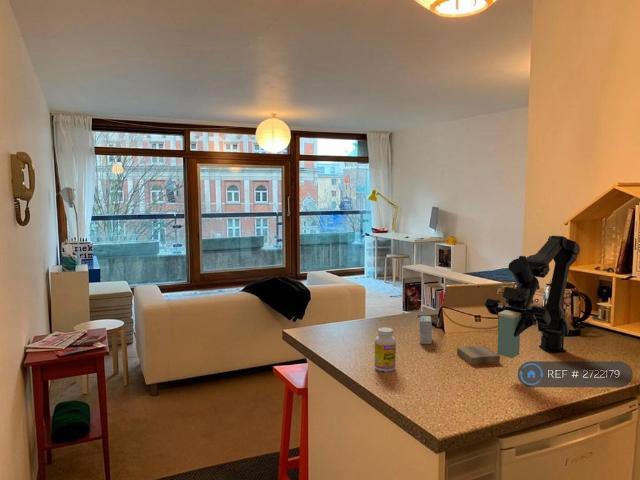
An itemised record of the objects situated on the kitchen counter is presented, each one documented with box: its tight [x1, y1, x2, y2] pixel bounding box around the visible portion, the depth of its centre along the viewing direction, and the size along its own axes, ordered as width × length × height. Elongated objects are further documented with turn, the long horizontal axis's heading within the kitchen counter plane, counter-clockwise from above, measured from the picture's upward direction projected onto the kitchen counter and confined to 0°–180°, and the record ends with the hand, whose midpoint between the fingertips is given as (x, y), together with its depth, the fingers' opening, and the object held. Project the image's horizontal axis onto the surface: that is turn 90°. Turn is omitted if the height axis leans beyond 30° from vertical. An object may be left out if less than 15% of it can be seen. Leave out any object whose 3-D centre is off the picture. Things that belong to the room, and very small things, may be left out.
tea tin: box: [496, 310, 521, 359], centre depth 141 cm, size 5×5×13 cm
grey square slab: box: [456, 345, 501, 366], centre depth 157 cm, size 10×10×3 cm
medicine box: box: [418, 315, 433, 345], centre depth 176 cm, size 8×4×9 cm, turn 168°
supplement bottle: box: [374, 326, 397, 373], centre depth 149 cm, size 7×7×13 cm
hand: (506, 334), depth 141 cm, fingers closed on tea tin, 5 cm apart
